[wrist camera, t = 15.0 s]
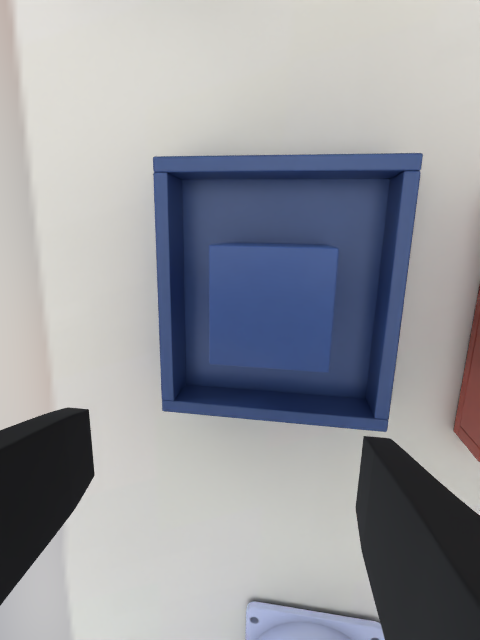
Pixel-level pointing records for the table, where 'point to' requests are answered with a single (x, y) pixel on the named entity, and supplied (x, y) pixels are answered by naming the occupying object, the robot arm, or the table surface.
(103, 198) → the table surface
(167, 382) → the blue tray
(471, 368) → the red tray
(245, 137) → the table surface
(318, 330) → the blue block
